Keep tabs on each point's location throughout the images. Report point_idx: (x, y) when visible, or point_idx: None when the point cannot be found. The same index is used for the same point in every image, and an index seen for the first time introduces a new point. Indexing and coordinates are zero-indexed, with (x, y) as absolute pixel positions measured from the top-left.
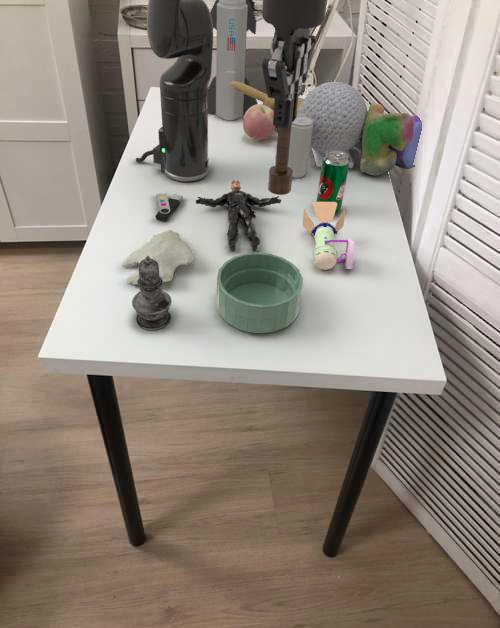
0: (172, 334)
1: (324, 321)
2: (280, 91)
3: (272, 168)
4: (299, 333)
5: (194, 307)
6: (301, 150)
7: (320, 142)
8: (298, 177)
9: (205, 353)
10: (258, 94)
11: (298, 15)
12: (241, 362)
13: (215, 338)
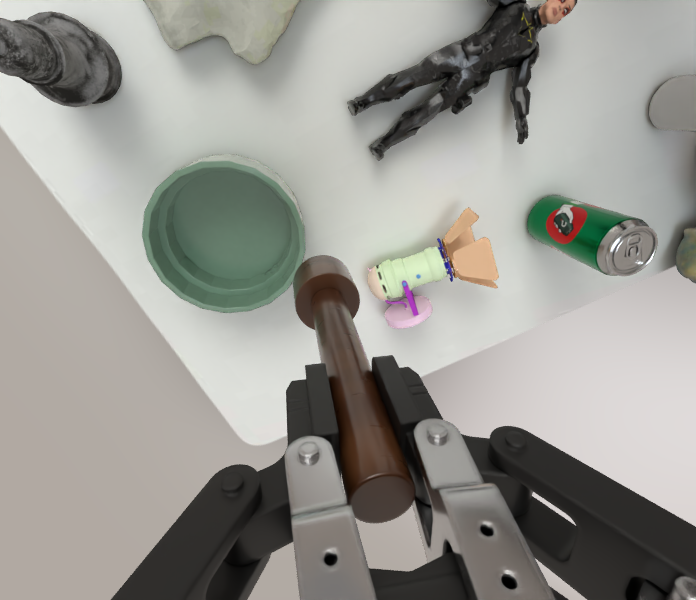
0: (79, 126)
1: (264, 320)
2: (229, 553)
3: (326, 279)
4: None
5: (165, 125)
6: None
7: None
8: (650, 118)
9: (85, 201)
10: None
11: None
12: (110, 258)
13: (125, 199)
